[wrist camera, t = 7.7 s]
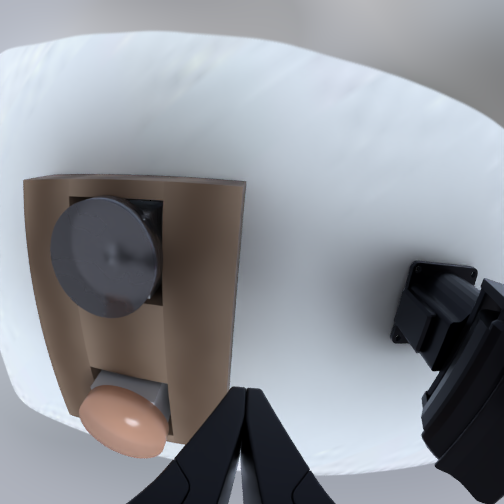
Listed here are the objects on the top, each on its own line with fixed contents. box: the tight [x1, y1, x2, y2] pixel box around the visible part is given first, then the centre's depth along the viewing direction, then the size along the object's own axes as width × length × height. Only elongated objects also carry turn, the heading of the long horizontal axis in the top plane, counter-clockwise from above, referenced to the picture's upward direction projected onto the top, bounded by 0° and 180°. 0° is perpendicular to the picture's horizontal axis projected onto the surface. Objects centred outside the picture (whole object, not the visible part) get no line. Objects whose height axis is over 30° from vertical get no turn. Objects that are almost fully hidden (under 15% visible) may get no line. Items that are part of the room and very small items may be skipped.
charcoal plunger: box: [50, 195, 163, 318], centre depth 17 cm, size 6×6×5 cm
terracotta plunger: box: [79, 370, 171, 458], centre depth 19 cm, size 6×6×5 cm
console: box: [23, 174, 246, 445], centre depth 19 cm, size 14×20×4 cm
